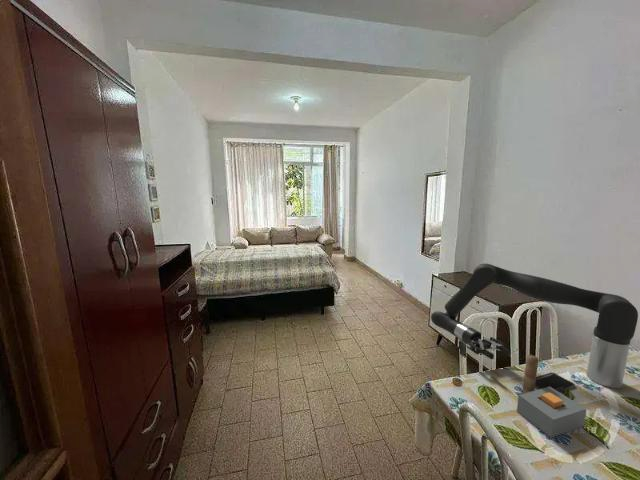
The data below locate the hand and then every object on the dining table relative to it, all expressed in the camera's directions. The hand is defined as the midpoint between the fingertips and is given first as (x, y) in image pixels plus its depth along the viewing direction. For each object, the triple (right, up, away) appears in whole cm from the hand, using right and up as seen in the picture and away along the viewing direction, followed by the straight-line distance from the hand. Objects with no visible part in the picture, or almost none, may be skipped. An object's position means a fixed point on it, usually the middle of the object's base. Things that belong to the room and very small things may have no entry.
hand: (501, 355), depth 103 cm
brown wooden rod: (+3, -10, -9) cm, 14 cm away
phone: (+15, -9, -5) cm, 19 cm away
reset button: (+1, -8, -21) cm, 22 cm away
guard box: (+1, -11, -20) cm, 23 cm away
